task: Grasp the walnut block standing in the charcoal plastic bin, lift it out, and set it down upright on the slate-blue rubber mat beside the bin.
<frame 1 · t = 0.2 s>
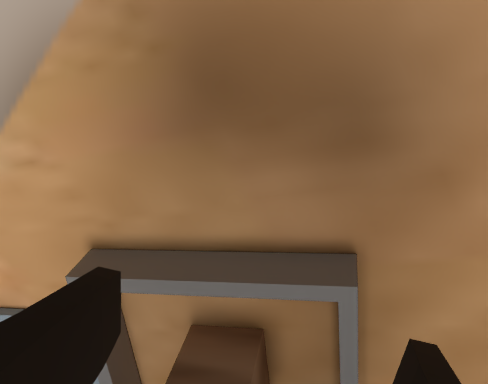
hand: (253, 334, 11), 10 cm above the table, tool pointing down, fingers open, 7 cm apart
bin: (231, 355, 25), on the table
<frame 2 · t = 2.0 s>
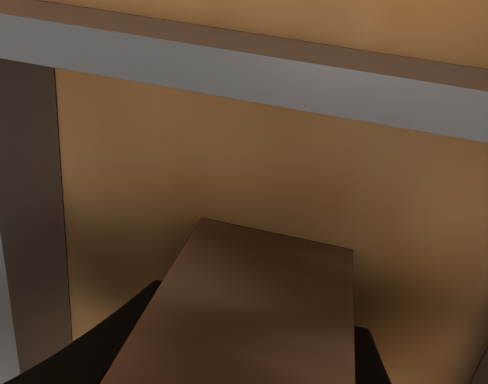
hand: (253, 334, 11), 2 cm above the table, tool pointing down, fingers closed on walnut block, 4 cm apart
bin: (264, 294, 13), on the table
walnut block: (242, 378, 10), in the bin, touching gripper
when the fingers open (3 cm above the table, at t = 5.6 s): walnut block stays where it is, resting on mat.
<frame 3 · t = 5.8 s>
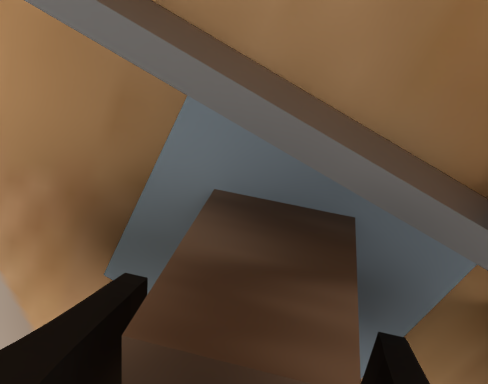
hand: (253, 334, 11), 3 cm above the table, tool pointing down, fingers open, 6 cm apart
walnut block: (254, 330, 11), on the mat, point 4 cm above the table
mat: (273, 259, 14), on the table
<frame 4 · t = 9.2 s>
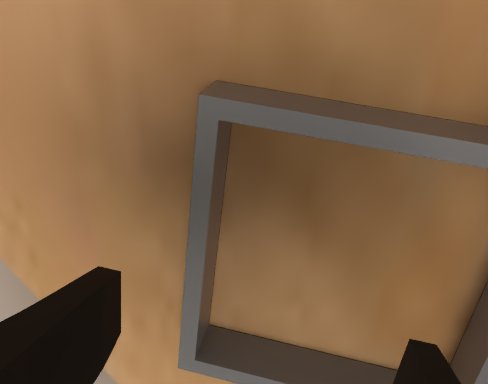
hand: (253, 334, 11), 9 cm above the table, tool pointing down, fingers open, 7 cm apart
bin: (348, 255, 21), on the table
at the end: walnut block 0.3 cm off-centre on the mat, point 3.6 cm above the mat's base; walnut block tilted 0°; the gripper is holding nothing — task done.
